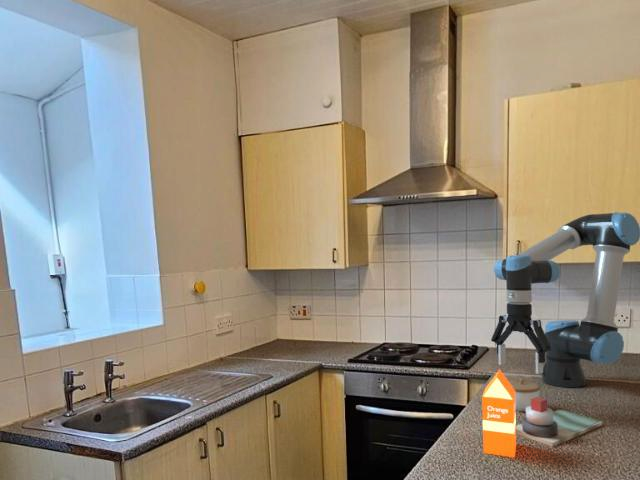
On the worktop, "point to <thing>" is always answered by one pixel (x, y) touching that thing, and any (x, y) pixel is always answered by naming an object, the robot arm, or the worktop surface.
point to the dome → (539, 412)
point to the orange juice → (499, 417)
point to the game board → (558, 428)
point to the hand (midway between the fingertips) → (520, 368)
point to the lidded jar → (524, 393)
